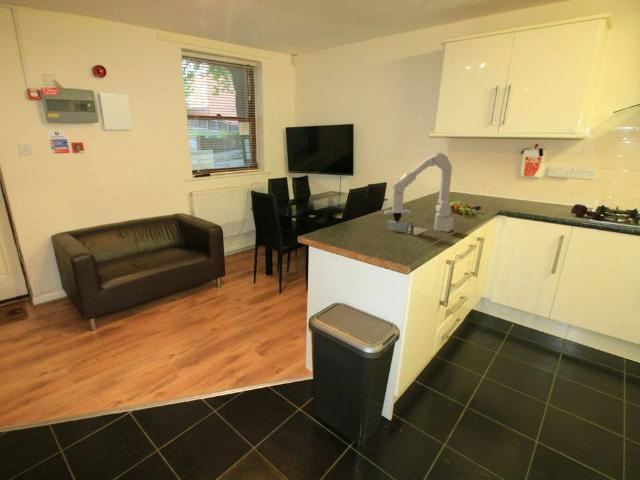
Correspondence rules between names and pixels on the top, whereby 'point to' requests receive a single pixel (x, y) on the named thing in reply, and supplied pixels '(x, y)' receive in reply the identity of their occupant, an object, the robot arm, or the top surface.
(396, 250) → the top surface
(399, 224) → the swing arm
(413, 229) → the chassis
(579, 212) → the figurine
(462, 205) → the toy
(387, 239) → the top surface
